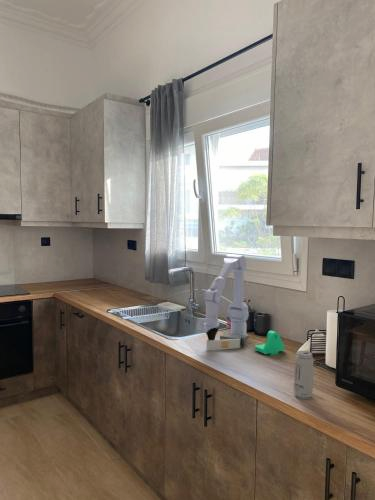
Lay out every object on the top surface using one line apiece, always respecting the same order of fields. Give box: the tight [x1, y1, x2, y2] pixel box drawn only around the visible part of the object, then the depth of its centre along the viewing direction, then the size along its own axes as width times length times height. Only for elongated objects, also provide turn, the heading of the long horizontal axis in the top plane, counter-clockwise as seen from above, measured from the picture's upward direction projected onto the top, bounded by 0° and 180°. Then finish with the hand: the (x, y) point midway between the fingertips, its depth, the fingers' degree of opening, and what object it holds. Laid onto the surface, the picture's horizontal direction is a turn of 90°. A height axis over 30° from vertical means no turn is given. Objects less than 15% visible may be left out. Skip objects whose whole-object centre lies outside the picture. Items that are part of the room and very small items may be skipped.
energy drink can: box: [293, 350, 315, 400], centre depth 131 cm, size 6×6×15 cm
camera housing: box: [219, 332, 246, 348], centre depth 188 cm, size 7×11×4 cm, turn 63°
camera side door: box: [206, 339, 241, 351], centre depth 181 cm, size 1×16×4 cm, turn 102°
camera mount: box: [254, 330, 286, 356], centre depth 179 cm, size 12×8×10 cm, turn 121°
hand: (211, 343), depth 182 cm, fingers closed
